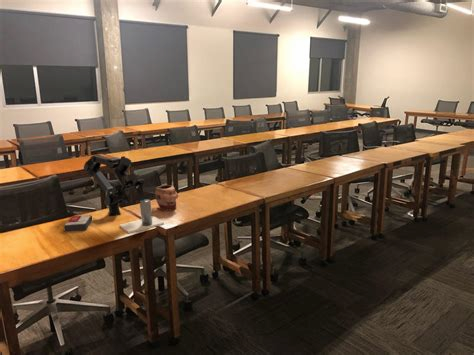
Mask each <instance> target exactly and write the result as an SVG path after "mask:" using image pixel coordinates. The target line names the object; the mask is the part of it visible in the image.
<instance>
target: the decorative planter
mask: <svg viewBox="0 0 474 355" xmlns="http://www.w3.org/2000/svg"><path fill="white" fill-rule="evenodd" d="M154 191H155V193H154V199H155V200H156V203H157V205H158V208H159V209H160V210H162V211H173V210H176V208H177V199H178V198H179V195H178V192H177V191H176V189H175V187H174V185H171V184H163V185H159V186H156V187H155V190H154Z"/></svg>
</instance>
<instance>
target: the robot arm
mask: <svg viewBox="0 0 474 355" xmlns="http://www.w3.org/2000/svg"><path fill="white" fill-rule="evenodd" d="M102 165H104V166H106V168H107V169H109V170H112V176H115V177H116V179H117V180H118V182H117V183H118V184H117V185H114V186H112V185H111V183H110V182H109V180H108V179H107V177H106V176H105V175H104V174H103V173H102V171H101V166H102ZM131 165H132V160H131V159H130V158H128V157H126V156H124V155H123V156H120V157H118V156H115V157H107V156H104V155H101V154H94V155H91V156H90V158H89V159H88V160H86V161H85V163H84V165H83V170H84V171H85V173H86V174H88V175H90V176H92V177H93V178H94V179H95V181H97V183H98V184H99V186H100V187H101V189H102V190H103V191H104V193H105V199H104V201H103V202H104V206H108V216H109V217H111V216H117V215H118V216H119V215H122V214H121V210H120V204H121V203H123V200H124V201H126V202H128V203H130V201H131V200H130V198H129V196H128V195H127V194H126V190H129V189H133V188H134V189H135V191H136V192H137V193H138V194H139V196H140V197H141V198H144V197H145V196H144V190H143V189H144V188H143V187H144V186H145V184H146V181H145V179H144V178H140V179H138V178H139V176H140V175H139V173H138V172H137V171H133V172H132V173H130V174H128V173H127V171H129V169H130V167H131ZM135 180H136V181H135Z"/></svg>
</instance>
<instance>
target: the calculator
mask: <svg viewBox="0 0 474 355" xmlns="http://www.w3.org/2000/svg"><path fill="white" fill-rule="evenodd" d="M92 221H93V216H92V215H91V214H89V215H74V216H71V217H70V218H69V219H68V220H67V222H66V223H65V224H64V225H63V229H64V232H66V233H68V232H80V231H87V230H88V229H89V226H90V225H91V223H92Z"/></svg>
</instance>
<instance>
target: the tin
mask: <svg viewBox="0 0 474 355" xmlns="http://www.w3.org/2000/svg"><path fill="white" fill-rule="evenodd" d="M139 206H140V209H139V210H140V220H142V225H143V226H150V225H152V217H153V216H152V215H153V214H152V202H151V199H147V198H146V199H141V200H139Z"/></svg>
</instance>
